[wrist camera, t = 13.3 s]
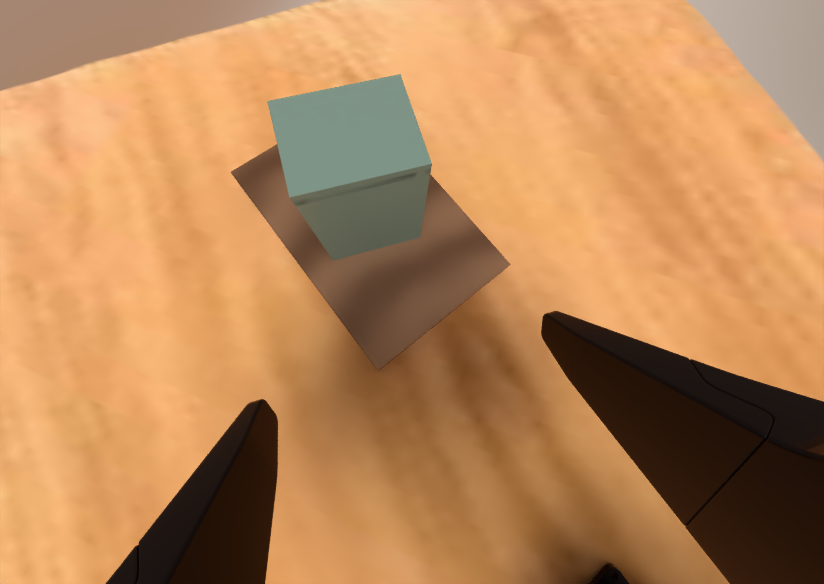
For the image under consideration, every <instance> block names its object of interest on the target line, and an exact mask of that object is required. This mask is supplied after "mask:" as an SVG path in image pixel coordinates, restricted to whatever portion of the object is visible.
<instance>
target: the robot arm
mask: <svg viewBox="0 0 824 584" xmlns="http://www.w3.org/2000/svg"><path fill="white" fill-rule="evenodd" d="M541 334H542V338H543V340H544V342H545V343H546V345H547V346H548V348H549V350H550V351H551V353H552V354H553V356H554V357H555V359H556V361H557V362H558V364H559V365H560V367H561V368H562V370H563V372H564V373H565V375H566V376H567V378H568V379H569V380H570V382H571V383H572V384H573V386H574V387H575V388H576V389H577V391H578V392H579V393H580V394H581V396H582V397H583V398H584V399H585V401H586V402H587V403H588V405H589V406H590V407H591V408H592V410H593V411H594V412H595V413H596V415H597V416H598V417H599V418H600V420H601V421H602V422H603V423H604V425H605V426H606V427H607V429H608V430H609V431H610V432H611V434H612V435H613V436H614V437H615V439H616V440H617V441H618V442H619V444H620V445H621V446H622V447H623V449H624V450H625V451H626V453H627V454H628V455H629V456H630V458H631V459H632V460H633V461H634V463H635V464H636V465H637V466H638V468H639V469H640V470H641V471H642V473H643V474H644V475H645V477H646V478H647V479H648V480H649V482H650V483H651V484H652V485H653V487H654V488H655V489H656V490H657V492H658V493H659V494H660V495H661V497H662V498H663V499H664V501H665V502H666V503H667V504H668V506H669V507H670V508H671V509H672V511H673V512H674V513H675V514H676V516H677V517H678V518H679V519H680V521H681V522H682V523H683V524H684V525H685V526H686V529H687V530H688V531H689V532H690V534H691V535H692V536H693V537H694V539H695V540H696V541H697V543H698V544H699V545H700V546H701V548H702V549H703V550H704V551H705V553H706V554H707V555H708V556H709V558H710V559H711V560H712V561H713V563H714V564H715V565H716V567H717V568H718V569H719V570H720V572H721V573H722V574H723V575H724V577H725V578H726V579H727V580H728V582H729V583H730V584H824V402H823V401H820V400H816V399H813V398H810V397H806V396H803V395H800V394H796V393H793V392H790V391H787V390H783V389H780V388H777V387H773V386H770V385H767V384H764V383H761V382H757V381H754V380H751V379H748V378H745V377H742V376H738V375H735V374H732V373H730V372H727V371H724V370H721V369H718V368H715V367H712V366H709V365H706V364H704V363H701V362H698V361H695V360H692V359H690V360H689V359H688V358H687V357H684V356H681V355H678V354H676V353H673V352H670V351H667V350H664V349H662V348H659V347H656V346H653V345H651V344H648V343H645V342H642V341H639V340H637V339H634V338H631V337H628V336H625V335H623V334H620V333H617V332H614V331H612V330H609V329H606V328H603V327H600V326H598V325H595V324H592V323H589V322H586V321H584V320H581V319H578V318H575V317H573V316H570V315H567V314H564V313H561V312H558V311H553V312H550V313H546V314H544V316H543V320H542V330H541ZM277 469H278V420H277V416H276V414H275V413H274V411H273V410H272V409H271V407H270V406H269V404H268V403H267V402H266V401H265V400H264V399H260V400H257V401H254V402H250V403H249V404H247V406H246V407H245V408H244V409H243V411H242V412H241V413H240V414H239V416H238V417H237V418H236V419H235V421H234V422H233V423H232V424H231V426H230V427H229V428H228V430H227V431H226V432H225V433H224V435H223V436H222V437H221V438H220V440H219V441H218V442H217V444H216V445H215V446H214V447H213V449H212V450H211V451H210V452H209V454H208V455H207V456H206V457H205V459H204V460H203V461H202V463H201V464H200V465H199V466H198V468H197V469H196V470H195V471H194V473H193V474H192V475H191V476H190V478H189V479H188V480H187V482H186V483H185V484H184V485H183V487H182V488H181V489H180V490H179V492H178V493H177V494H176V496H175V497H174V498H173V499H172V501H171V502H170V503H169V504H168V506H167V507H166V508H165V509H164V511H163V512H162V513H161V515H160V516H159V517H158V518H157V520H156V521H155V522H154V523H153V525H152V526H151V527H150V529H149V530H148V531H147V532H146V534H145V535H144V536H143V537H142V539H141V540H140V541H139V545H137V546H135V547H134V549H133V550H132V551H131V552H130V554H129V555H128V556H127V558H126V559H125V560H124V561H123V563H122V564H121V565H120V566H119V568H118V569H117V570H116V571H115V573H114V574H113V575H112V576H111V578H110V579H109V580H108V581H107V582H106V584H265V580H266V571H267V562H268V553H269V545H270V536H271V527H272V518H273V510H274V501H275V492H276V483H277ZM612 572H614V575H613V576H612V577H611V573H612ZM589 584H629V582H628V581H627V580H626V579H625V577H624V576H623V575H622V574H621V572H620V571H619V570H618V569H617V568H616V567H615V566H614V565H613V564H606V565H605V566H604V567H603V568H602V569H601V570H600V571H599V573H598V574H597V575H596V576H595V577H594V578H593V579H592V580H591V582H590V583H589Z"/></svg>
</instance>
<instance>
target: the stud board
mask: <svg viewBox="0 0 824 584" xmlns="http://www.w3.org/2000/svg"><path fill="white" fill-rule="evenodd" d="M231 173H232V175H233V176H234V177H235V179H236V180H237V182H238V183H239V184H240V186H241V187H242V188H243V190H244V191H245V192H246V194H247V195H248V196H249V198H250V199H251V200H252V202H253V203H254V204H255V206H256V207H257V208H258V210H259V211H260V213H261V214H262V215H263V217H264V218H265V219H266V221H267V222H268V223H269V225H270V226H271V227H272V229H273V230H274V231H275V233H276V234H277V235H278V237H279V238H280V239H281V241H282V242H283V244H284V245H285V246H286V248H287V249H288V250H289V252H290V253H291V254H292V256H293V257H294V258H295V260H296V261H297V262H298V264H299V265H300V266H301V268H302V269H303V270H304V272H305V273H306V274H307V276H308V277H309V279H310V280H311V281H312V283H313V284H314V285H315V287H316V288H317V289H318V291H319V292H320V293H321V295H322V296H323V297H324V299H325V300H326V301H327V303H328V304H329V305H330V307H331V308H332V310H333V311H334V312H335V314H336V315H337V316H338V318H339V319H340V320H341V322H342V323H343V324H344V326H345V327H346V328H347V330H348V331H349V332H350V334H351V335H352V336H353V338H354V339H355V341H356V342H357V343H358V345H359V346H360V347H361V349H362V350H363V351H364V353H365V354H366V355H367V357H368V358H369V359H370V361H371V362H372V363H373V365H374V366H375V367H376V369H377V370H380V369H381V368H382V367H383V366H385V365H386V364H387V363H388V362H390V361H391V360H392V359H393V358H395V357H396V356H397V355H398V354H400V353H401V352H402V351H403V350H405V349H406V348H407V347H408V346H410V345H411V344H412V343H413V342H415V341H416V340H417V339H418V338H420V337H421V336H422V335H423V334H425V333H426V332H427V331H428V330H430V329H431V328H432V327H433V326H435V325H436V324H437V323H438V322H440V321H441V320H442V319H443V318H445V317H446V316H447V315H448V314H450V313H451V312H452V311H453V310H455V309H456V308H457V307H458V306H460V305H461V304H462V303H463V302H465V301H466V300H467V299H468V298H470V297H471V296H472V295H473V294H475V293H476V292H477V291H478V290H480V289H481V288H482V287H483V286H485V285H486V284H487V283H488V282H490V281H491V280H492V279H493V278H495V277H496V276H497V275H498V274H500V273H501V272H502V271H503V270H504V269H506V268H507V267H508V266H509V265H510V263H509V262H508V261H507V260H506V259H505V258H504V257H503V256H502V254H501V253H500V252H499V251H498V250H497V249H496V248H495V247H494V245H493V244H492V243H491V242H490V241H489V240H488V239H487V238H486V236H485V235H484V234H483V233H482V232H481V231H480V230H479V229H478V227H477V226H476V225H475V224H474V223H473V222H472V221H471V220H470V218H469V217H468V216H467V215H466V214H465V213H464V212H463V211H462V209H461V208H460V207H459V206H458V205H457V204H456V203H455V201H454V200H453V199H452V198H451V197H450V196H449V195H448V194H447V192H446V191H445V190H444V189H443V188H442V187H441V186H440V185H439V183H438V182H437V181H436V180H435V179H434V178H433V177H432V176H431V174H430V178H429V184H428V190H427V197H426V203H425V209H424V215H423V222H422V228H421V234H420V238H417V239H413V240H409V241H405V242H402V243H398V244H394V245H390V246H386V247H383V248H379V249H375V250H371V251H367V252H364V253H360V254H356V255H352V256H348V257H345V258H341V259H337V260H333V259H332V258H331V257H330V255H329V254H328V252H327V251H326V249H325V248H324V247H323V245H322V244H321V242H320V241H319V239H318V238H317V236H316V235H315V234H314V232H313V231H312V229H311V228H310V226H309V225H308V223H307V222H306V221H305V219H304V218H303V216H302V215H301V213H300V212H299V211H298V209H297V208H296V206H295V205H294V203H293V202H292V200H291V199H290V198H289V193H288V189H287V185H286V180H285V176H284V171H283V167H282V163H281V158H280V154H279V150H278V145H275V146H273V147H272V148H270V149H268V150H267V151H265V152H263V153H262V154H260V155H258V156H257V157H255V158H253V159H252V160H250V161H248V162H247V163H245V164H243V165H242V166H240V167H238V168H237V169H235V170H233V171H232V172H231Z"/></svg>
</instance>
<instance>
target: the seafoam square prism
mask: <svg viewBox="0 0 824 584" xmlns="http://www.w3.org/2000/svg"><path fill="white" fill-rule="evenodd" d="M268 106H269V110H270V115H271V119H272V123H273V128H274V132H275V136H276V141H277V145H278V150H279V154H280V158H281V163H282V167H283V171H284V176H285V180H286V185H287V189H288V193H289V198H290V199H291V200H292V202H293V203H294V205H295V206H296V208H297V209H298V211H299V212H300V213H301V215H302V216H303V218H304V219H305V221H306V222H307V223H308V225H309V226H310V228H311V229H312V231H313V232H314V234H315V235H316V236H317V238H318V239H319V241H320V242H321V244H322V245H323V247H324V248H325V249H326V251H327V252H328V254H329V255H330V257H331V258H332V259H333V260H337V259H341V258H345V257H348V256H352V255H356V254H360V253H364V252H367V251H371V250H375V249H379V248H383V247H386V246H390V245H394V244H398V243H402V242H405V241H409V240H413V239H417V238H420V234H421V228H422V222H423V215H424V209H425V203H426V197H427V190H428V184H429V178H430V172H431V166H432V163H431V160H430V157H429V154H428V152H427V149H426V146H425V143H424V140H423V137H422V134H421V132H420V129H419V126H418V123H417V120H416V117H415V115H414V112H413V109H412V106H411V103H410V100H409V98H408V95H407V92H406V89H405V86H404V83H403V80H402V78H401V75H400V74H399V75H394V76H389V77H384V78H380V79H375V80H370V81H365V82H360V83H355V84H350V85H345V86H340V87H335V88H330V89H325V90H320V91H315V92H310V93H306V94H301V95H296V96H291V97H286V98H281V99H276V100H271V101H268Z"/></svg>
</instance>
